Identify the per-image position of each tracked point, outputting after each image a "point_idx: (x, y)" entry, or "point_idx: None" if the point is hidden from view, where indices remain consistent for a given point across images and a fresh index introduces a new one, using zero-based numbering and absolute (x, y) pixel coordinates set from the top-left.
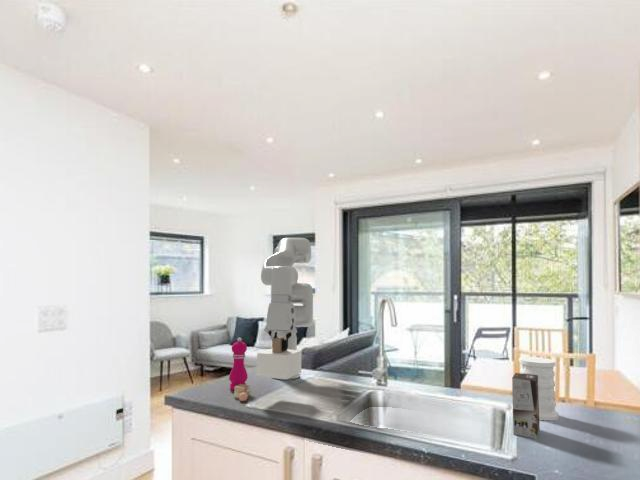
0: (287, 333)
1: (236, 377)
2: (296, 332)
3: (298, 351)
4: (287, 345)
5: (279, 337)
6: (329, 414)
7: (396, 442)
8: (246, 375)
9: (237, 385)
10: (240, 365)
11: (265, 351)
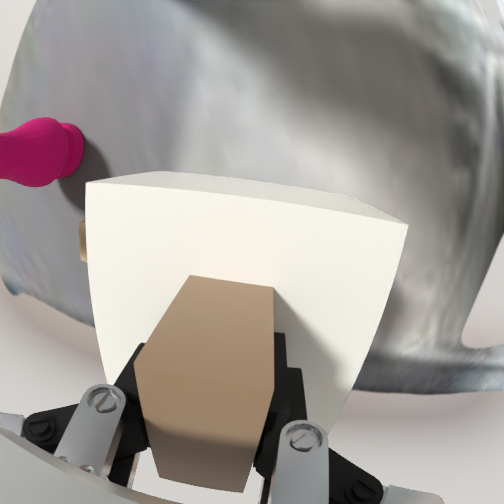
0: (300, 494)
1: (41, 184)
2: (431, 501)
3: (388, 287)
4: (299, 389)
5: (175, 431)
6: (424, 318)
7: (488, 386)
8: (56, 146)
9: (80, 242)
10: (14, 169)
11: (119, 357)
